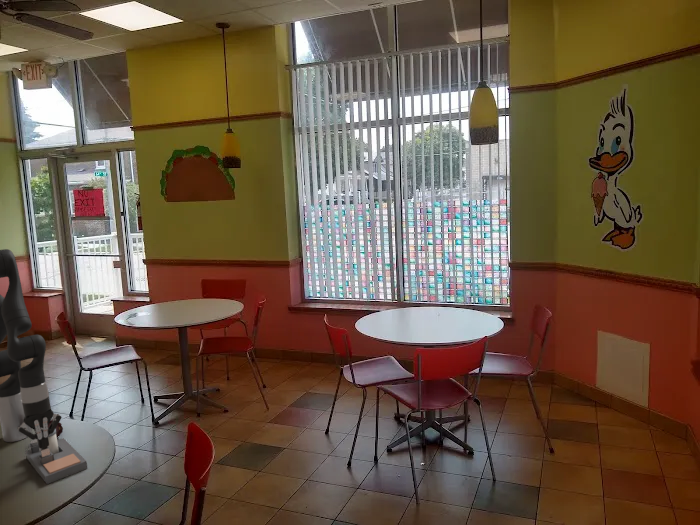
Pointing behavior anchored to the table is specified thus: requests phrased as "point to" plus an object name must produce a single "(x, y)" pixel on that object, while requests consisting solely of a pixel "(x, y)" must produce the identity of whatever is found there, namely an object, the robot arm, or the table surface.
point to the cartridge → (53, 443)
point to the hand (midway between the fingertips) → (44, 448)
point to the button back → (34, 443)
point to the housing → (56, 462)
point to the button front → (44, 452)
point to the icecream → (57, 428)
